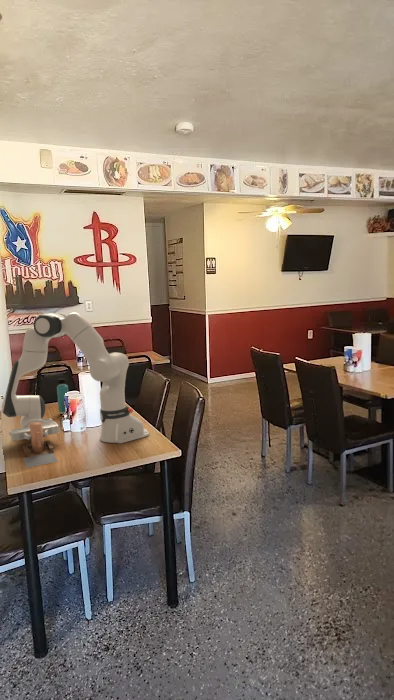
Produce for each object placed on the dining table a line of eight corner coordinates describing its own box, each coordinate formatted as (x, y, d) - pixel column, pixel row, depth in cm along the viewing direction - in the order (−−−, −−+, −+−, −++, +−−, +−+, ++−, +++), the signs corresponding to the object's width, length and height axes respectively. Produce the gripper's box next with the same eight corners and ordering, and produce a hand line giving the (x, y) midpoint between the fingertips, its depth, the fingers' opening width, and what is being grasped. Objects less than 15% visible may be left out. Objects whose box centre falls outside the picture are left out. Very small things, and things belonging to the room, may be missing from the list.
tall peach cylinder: (43, 447, 204) (41, 421, 202) (46, 453, 197) (43, 426, 195) (31, 449, 202) (29, 423, 200) (34, 455, 194) (31, 428, 193)
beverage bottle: (67, 415, 257) (64, 380, 254) (56, 415, 258) (53, 380, 255) (73, 412, 263) (69, 377, 260) (62, 412, 265) (59, 377, 262)
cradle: (49, 445, 208) (49, 440, 207) (53, 453, 198) (53, 447, 198) (23, 450, 203) (23, 445, 203) (26, 458, 193) (26, 452, 193)
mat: (52, 453, 197) (52, 452, 197) (57, 462, 187) (57, 461, 187) (23, 459, 192) (22, 458, 192) (26, 469, 181) (26, 467, 181)
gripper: (7, 425, 206) (10, 433, 194) (55, 417, 215) (60, 425, 203) (9, 439, 207) (12, 448, 195) (56, 430, 216) (61, 439, 204)
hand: (37, 436), depth 199 cm, fingers closed on tall peach cylinder, 5 cm apart
